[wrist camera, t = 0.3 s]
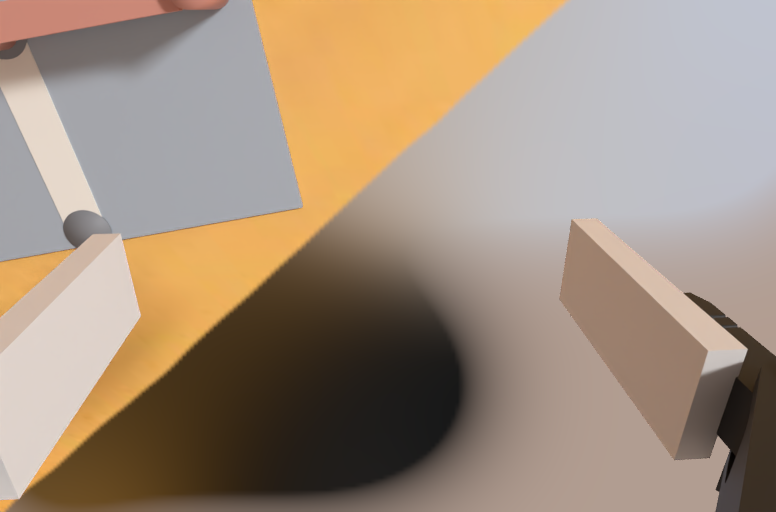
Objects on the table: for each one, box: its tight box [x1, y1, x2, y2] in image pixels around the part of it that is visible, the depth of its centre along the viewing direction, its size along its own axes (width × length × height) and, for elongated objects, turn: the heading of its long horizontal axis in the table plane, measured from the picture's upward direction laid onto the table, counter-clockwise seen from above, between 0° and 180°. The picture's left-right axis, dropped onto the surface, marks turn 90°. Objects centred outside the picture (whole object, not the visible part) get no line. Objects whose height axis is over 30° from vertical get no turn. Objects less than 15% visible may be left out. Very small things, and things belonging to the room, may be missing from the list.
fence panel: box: [0, 0, 229, 44], centre depth 32 cm, size 14×2×7 cm, turn 99°
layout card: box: [0, 0, 303, 261], centre depth 38 cm, size 23×34×1 cm
